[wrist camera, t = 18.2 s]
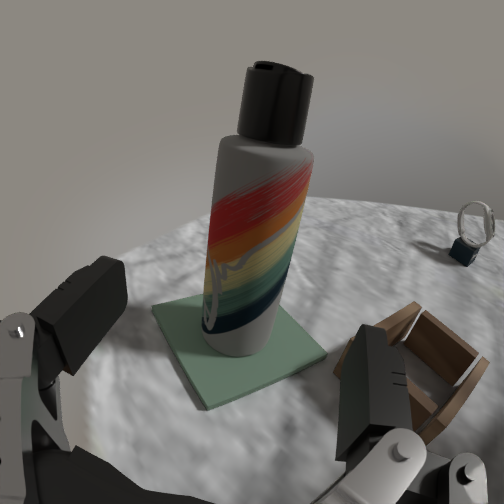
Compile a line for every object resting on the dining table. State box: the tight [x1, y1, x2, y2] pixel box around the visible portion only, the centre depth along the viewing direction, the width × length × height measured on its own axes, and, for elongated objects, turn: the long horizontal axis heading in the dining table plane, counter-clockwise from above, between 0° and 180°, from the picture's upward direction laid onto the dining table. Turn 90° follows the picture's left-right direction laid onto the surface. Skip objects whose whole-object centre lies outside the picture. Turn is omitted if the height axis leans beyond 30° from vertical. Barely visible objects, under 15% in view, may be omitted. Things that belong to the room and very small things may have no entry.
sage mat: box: [152, 294, 328, 411], centre depth 26 cm, size 11×11×1 cm
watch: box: [449, 201, 495, 267], centre depth 45 cm, size 6×8×11 cm
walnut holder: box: [333, 301, 490, 446], centre depth 22 cm, size 10×10×4 cm
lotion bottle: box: [201, 61, 314, 357], centre depth 20 cm, size 6×6×20 cm
